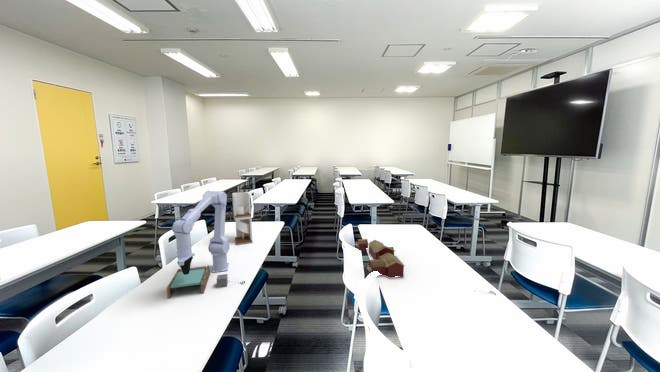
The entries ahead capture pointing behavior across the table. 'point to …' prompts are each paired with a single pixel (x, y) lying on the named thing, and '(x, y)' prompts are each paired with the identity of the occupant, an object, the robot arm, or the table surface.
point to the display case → (242, 217)
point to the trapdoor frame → (203, 282)
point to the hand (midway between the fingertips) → (186, 273)
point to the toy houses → (382, 258)
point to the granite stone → (222, 280)
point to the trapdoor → (189, 277)
